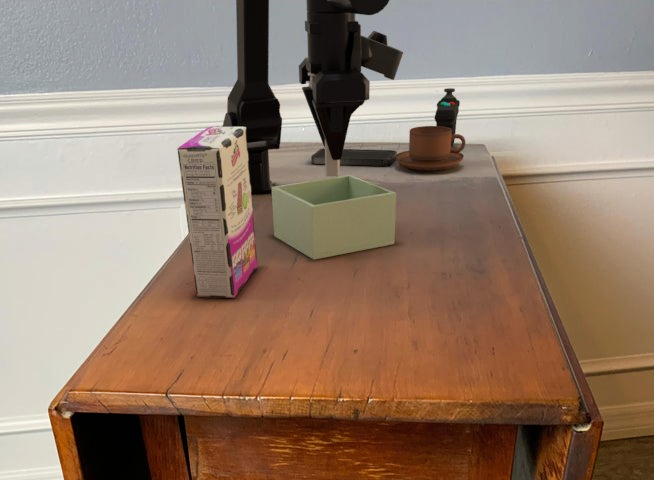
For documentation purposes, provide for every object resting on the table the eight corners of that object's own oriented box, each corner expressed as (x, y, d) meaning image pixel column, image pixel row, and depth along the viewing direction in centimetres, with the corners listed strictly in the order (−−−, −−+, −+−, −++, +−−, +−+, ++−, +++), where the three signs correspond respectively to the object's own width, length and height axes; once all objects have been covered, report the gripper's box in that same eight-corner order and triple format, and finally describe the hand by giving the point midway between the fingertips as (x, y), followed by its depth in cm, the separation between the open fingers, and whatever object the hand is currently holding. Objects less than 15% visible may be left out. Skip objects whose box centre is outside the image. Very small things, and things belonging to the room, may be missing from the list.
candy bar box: (220, 266, 101) (206, 125, 91) (258, 267, 100) (248, 125, 90) (193, 298, 92) (175, 145, 82) (234, 299, 91) (221, 145, 82)
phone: (389, 159, 143) (309, 156, 146) (389, 166, 143) (309, 163, 147) (398, 150, 149) (321, 148, 152) (397, 156, 149) (321, 154, 153)
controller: (457, 142, 158) (461, 86, 153) (453, 156, 149) (458, 96, 143) (436, 142, 159) (439, 86, 153) (430, 156, 149) (433, 96, 144)
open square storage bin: (274, 236, 111) (271, 186, 107) (350, 222, 115) (350, 174, 111) (313, 259, 102) (312, 206, 98) (394, 244, 106) (396, 192, 102)
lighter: (339, 176, 101) (338, 106, 96) (325, 176, 101) (324, 106, 96) (340, 163, 106) (340, 97, 102) (327, 164, 106) (326, 97, 102)
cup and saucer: (443, 157, 148) (446, 121, 144) (474, 170, 139) (478, 132, 135) (384, 164, 145) (385, 127, 141) (412, 178, 136) (413, 139, 132)
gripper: (416, 13, 86) (409, 165, 95) (382, 3, 101) (379, 136, 110) (315, 17, 85) (318, 171, 94) (296, 7, 100) (300, 141, 110)
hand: (332, 153), depth 102 cm, fingers closed on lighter, 7 cm apart
